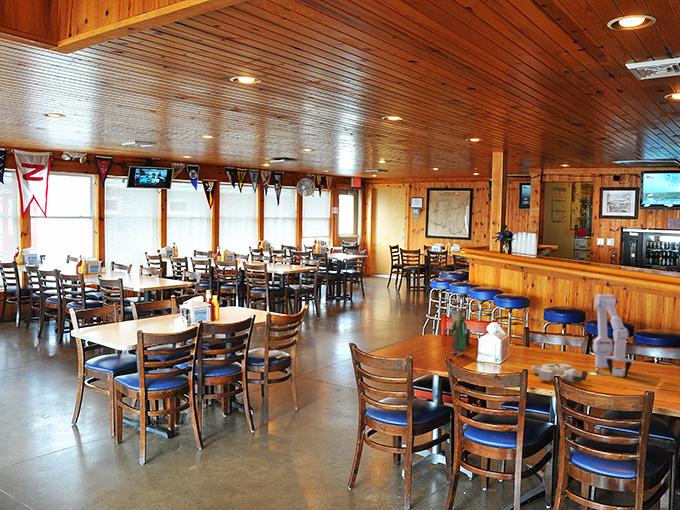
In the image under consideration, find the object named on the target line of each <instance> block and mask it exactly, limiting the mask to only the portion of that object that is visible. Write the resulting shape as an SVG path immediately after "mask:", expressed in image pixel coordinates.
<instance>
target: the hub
mask: <svg viewBox="0 0 680 510" xmlns="http://www.w3.org/2000/svg"><path fill="white" fill-rule="evenodd" d="M600 369H601V368H600V367H595V370H590V371H588V373H589V374H590V375H592V376H597V377H598V376H599V377H604V376H607V373H606V372H603V371H600Z"/></svg>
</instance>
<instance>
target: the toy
mask: <svg viewBox="0 0 680 510" xmlns="http://www.w3.org/2000/svg"><path fill="white" fill-rule="evenodd" d="M531 371H532V372H533V373H535V374H538V379H539V380H544V381H554V380H553V377H554V376H560V377H561V378H562V379H564V380H565V381H566V382H569V383H575V382H579V383H582V381H586V379H587V376H588V372H587V371H585V370H582V371H581V372H582V373H580V371H578V369H575V368H573V365H569V364H567V363H563V362H562V363H548V364H547V363H544V364H541V365H532V366H531Z"/></svg>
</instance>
